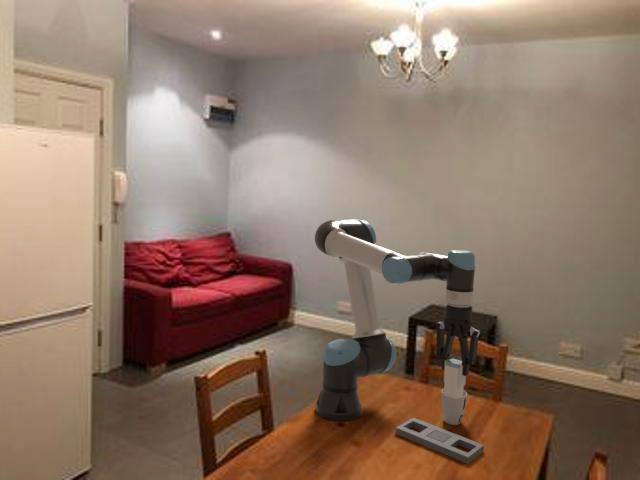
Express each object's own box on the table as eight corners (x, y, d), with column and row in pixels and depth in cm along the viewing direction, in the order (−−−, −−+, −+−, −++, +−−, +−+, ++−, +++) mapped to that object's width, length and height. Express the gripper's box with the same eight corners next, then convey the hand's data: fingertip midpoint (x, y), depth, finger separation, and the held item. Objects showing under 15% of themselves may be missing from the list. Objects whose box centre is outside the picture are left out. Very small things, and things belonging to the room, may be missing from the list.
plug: (443, 395, 160) (445, 361, 159) (450, 391, 163) (452, 358, 162) (456, 399, 157) (458, 364, 156) (463, 395, 160) (465, 361, 159)
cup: (465, 428, 175) (468, 398, 173) (439, 425, 176) (441, 395, 175) (464, 417, 182) (466, 389, 181) (439, 414, 184) (441, 385, 183)
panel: (395, 433, 169) (396, 427, 169) (412, 423, 176) (413, 417, 176) (467, 464, 153) (468, 457, 153) (483, 451, 161) (483, 445, 160)
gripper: (426, 301, 160) (422, 379, 162) (480, 311, 149) (475, 395, 151) (439, 297, 166) (435, 373, 168) (493, 307, 154) (487, 388, 157)
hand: (454, 383), depth 160 cm, fingers closed on plug, 4 cm apart
